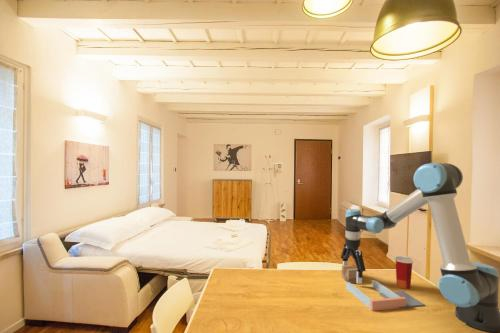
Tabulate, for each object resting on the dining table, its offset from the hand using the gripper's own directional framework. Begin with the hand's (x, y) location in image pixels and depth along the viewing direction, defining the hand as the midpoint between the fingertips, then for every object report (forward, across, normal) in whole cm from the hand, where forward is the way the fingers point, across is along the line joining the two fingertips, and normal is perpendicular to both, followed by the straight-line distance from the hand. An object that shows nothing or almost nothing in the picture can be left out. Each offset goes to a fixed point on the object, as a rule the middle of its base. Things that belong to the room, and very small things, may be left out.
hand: (352, 277), depth 149 cm
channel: (+1, -18, 0) cm, 18 cm away
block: (+2, +1, 0) cm, 2 cm away
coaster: (+1, -23, -11) cm, 26 cm away
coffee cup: (+2, -11, -22) cm, 25 cm away
